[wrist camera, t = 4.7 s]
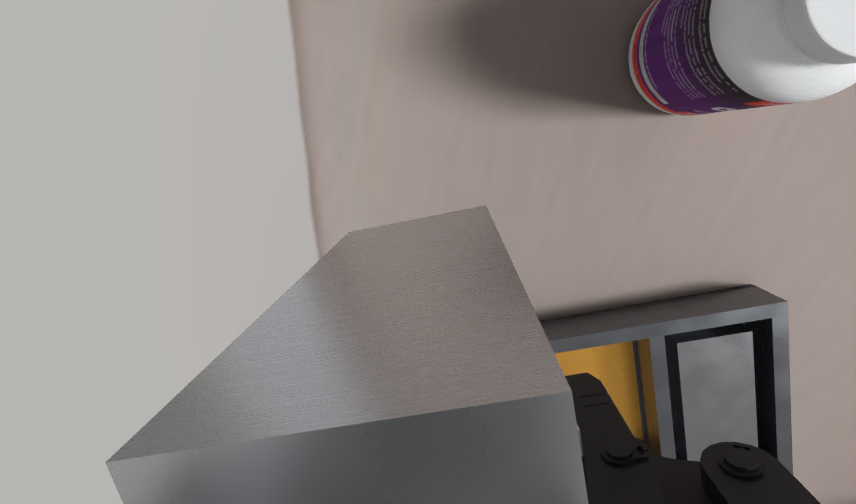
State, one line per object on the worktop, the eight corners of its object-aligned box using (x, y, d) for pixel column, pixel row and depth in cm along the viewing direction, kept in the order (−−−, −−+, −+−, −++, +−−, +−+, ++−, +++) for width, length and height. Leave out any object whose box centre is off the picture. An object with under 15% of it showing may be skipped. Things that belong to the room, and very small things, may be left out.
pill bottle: (660, 140, 32) (825, 141, 18) (599, 39, 30) (726, -47, 16) (771, 66, 30) (1046, 3, 16) (712, -44, 29) (956, -215, 15)
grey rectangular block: (348, 232, 17) (105, 461, 5) (485, 205, 16) (571, 390, 4) (408, 465, 19) (336, 992, 7) (529, 447, 18) (660, 984, 7)
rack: (421, 341, 36) (417, 362, 33) (752, 284, 34) (787, 301, 30) (455, 492, 39) (455, 527, 36) (760, 451, 37) (793, 483, 33)
